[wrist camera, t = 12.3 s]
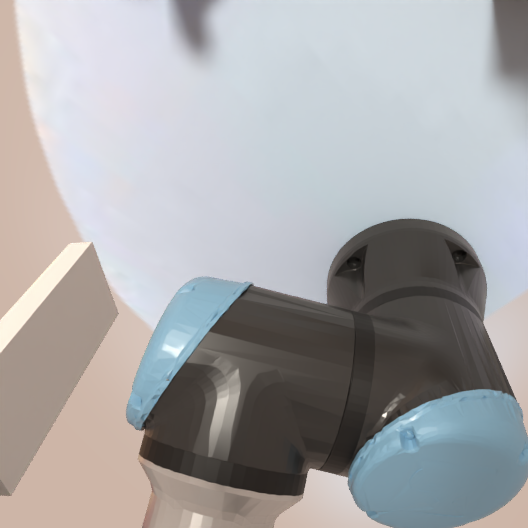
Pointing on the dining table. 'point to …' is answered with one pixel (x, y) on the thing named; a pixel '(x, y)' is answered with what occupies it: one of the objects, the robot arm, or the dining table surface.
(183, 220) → the dining table surface
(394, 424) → the robot arm
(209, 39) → the dining table surface
